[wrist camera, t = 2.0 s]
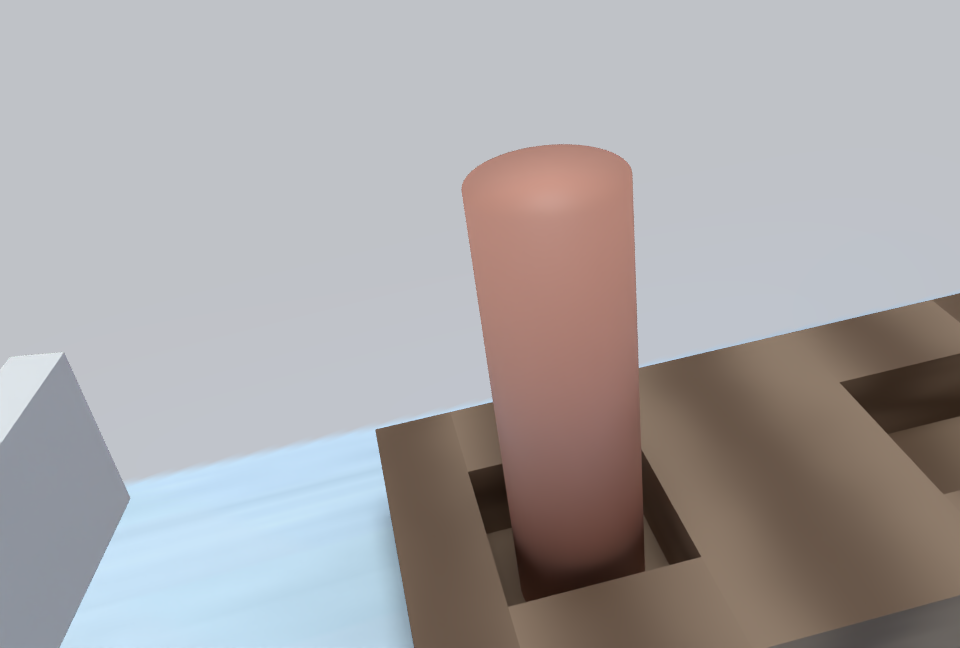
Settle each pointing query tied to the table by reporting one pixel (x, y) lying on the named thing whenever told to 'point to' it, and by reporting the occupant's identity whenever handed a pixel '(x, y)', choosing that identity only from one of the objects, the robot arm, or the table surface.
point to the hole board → (724, 503)
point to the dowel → (562, 358)
